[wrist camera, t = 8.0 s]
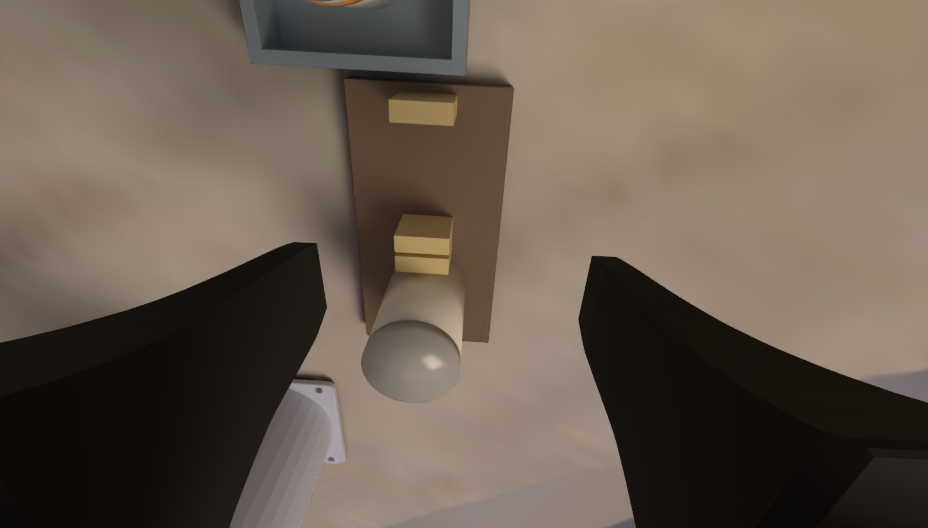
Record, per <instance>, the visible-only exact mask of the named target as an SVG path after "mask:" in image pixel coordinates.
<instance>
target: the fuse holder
mask: <svg viewBox="0 0 928 528" xmlns="http://www.w3.org/2000/svg"><path fill="white" fill-rule="evenodd" d="M344 85H345V96H346V107H347V118H348V130H349V141H350V152H351V163H352V175H353V186H354V197H355V208H356V220H357V231H358V242H359V253H360V265H361V276H362V287H363V298H364V310H365V321H366V332H367V335H370V333H371V330H372V328H373V325H374V322H375V319H376V317H377V314H378V311H379V309H380V306H381V303H382V301H383V298H384V295H385V292H386V290H387V287H388V284H389V282H390V279H391V276H392V273H393V272H394V270H395V271H396V272H412V273H428V274H445V275H448V273H449V266H450V263H452V264H453V265H454V266H455V267H456V268H457V269H458V270H459V271H460V273H461V275H462V277H463V279H464V282H465V301H464V317H463V333H462V341H470V342H486V343H488V340H489V330H490V321H491V311H492V301H493V291H494V281H495V271H496V261H497V251H498V241H499V231H500V222H501V212H502V202H503V192H504V182H505V172H506V162H507V152H508V142H509V132H510V123H511V113H512V103H513V93H514V88H513V86H500V85H482V84H465V83H447V82H430V81H412V80H395V79H377V78H360V77H348V78H345V79H344Z"/></svg>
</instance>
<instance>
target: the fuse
mask: <svg viewBox="0 0 928 528" xmlns="http://www.w3.org/2000/svg"><path fill="white" fill-rule="evenodd" d="M464 301H465V282H464V279H463V277H462V275H461V273H460V271H459V270H458V269H457V268H456V267H455V266H454V265H453V264H452V263H450V266H449V273H448V275H445V274H428V273H412V272H396V271H395V270H394V272H393V273H392V276H391V279H390V282H389V284H388V287H387V290H386V292H385V295H384V298H383V301H382V303H381V306H380V309H379V311H378V314H377V317H376V319H375V322H374V325H373V328H372V330H371V333H370V336H369V338H368V341H367V344H366V347H365V349H364V352H363V355H362V360H361V366H362V371H363V373H364V376H365V378H366V379H367V381H368V382H369V383H370V385H371V386H372V387H373V388H375V389H376V390H377V391H378V392H380V393H381V394H383V395H385V396H387V397H389V398H391V399H394V400H397V401H401V402H407V403H425V402H430V401H433V400H436V399H439V398H441V397H443V396H445V395H446V394H447V393H449V392H450V391H451V390H452V389H453V388H454V386H455V385H456V383H457V381H458V379H459V375H460V364H461V348H462V333H463V317H464Z"/></svg>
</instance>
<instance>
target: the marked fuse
mask: <svg viewBox="0 0 928 528" xmlns="http://www.w3.org/2000/svg"><path fill="white" fill-rule="evenodd" d="M307 1H309V2H312V3H316V4H320V5H326V6H336V7H339V6H343V7H348V8H354V9H359V10H368V11H369V10H378V9H382V8H384V7H387V6H389V5H391V4H392V3H394V2H395V1H396V0H307Z"/></svg>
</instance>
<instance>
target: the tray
mask: <svg viewBox="0 0 928 528" xmlns="http://www.w3.org/2000/svg"><path fill="white" fill-rule="evenodd" d="M239 2H240V8H241V13H242V18H243V23H244V29H245V34H246V39H247V45H248V50H249V55H250V60H251V64H266V65H284V66H302V67H319V68H337V69H354V70H372V71H389V72H407V73H424V74H442V75H460V76H465V73H466V71H467V50H468V28H469V7H470V0H396V1H395V2H394V3H392V4H391V5H389V6H387V7H384V8H382V9H378V10H369V11H368V10H359V9H354V8H348V7H343V6H339V7H336V6H326V5H320V4H316V3H312V2H309V1H307V0H239Z"/></svg>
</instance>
